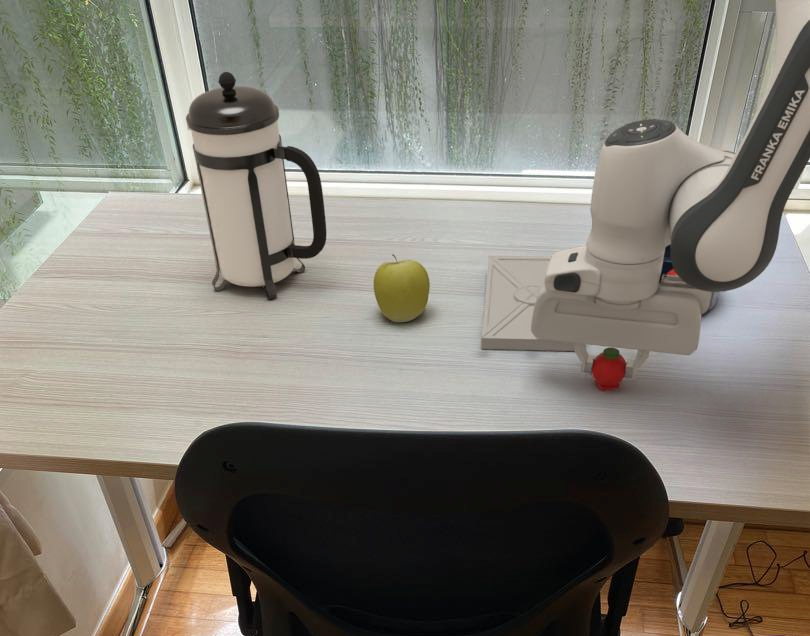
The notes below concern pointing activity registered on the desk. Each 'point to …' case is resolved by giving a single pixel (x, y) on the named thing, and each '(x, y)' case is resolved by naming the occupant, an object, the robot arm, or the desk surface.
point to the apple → (401, 289)
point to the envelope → (514, 304)
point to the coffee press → (250, 186)
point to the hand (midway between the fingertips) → (608, 373)
